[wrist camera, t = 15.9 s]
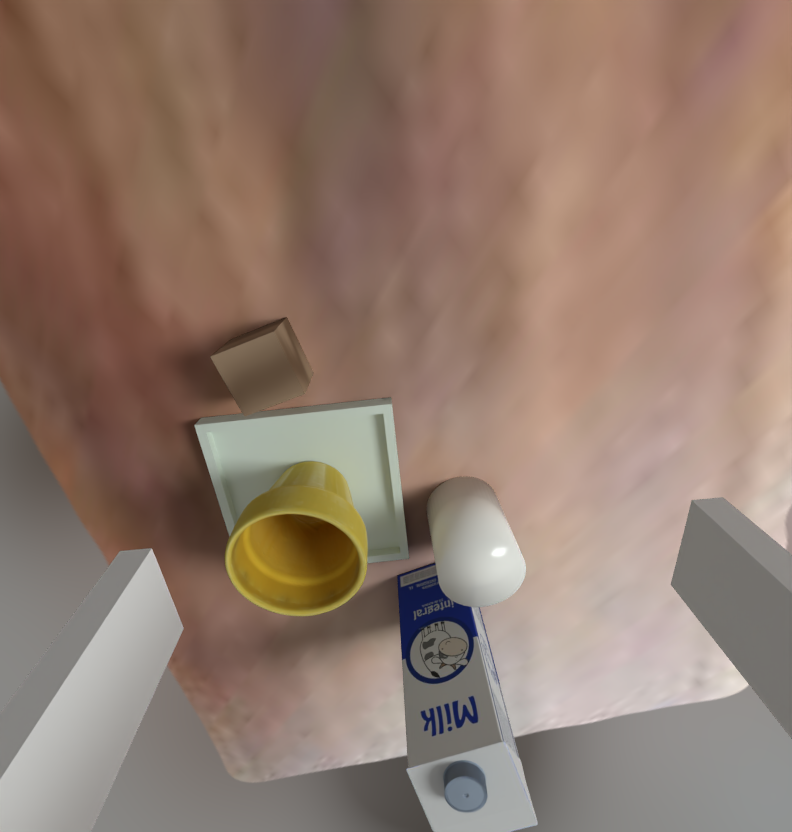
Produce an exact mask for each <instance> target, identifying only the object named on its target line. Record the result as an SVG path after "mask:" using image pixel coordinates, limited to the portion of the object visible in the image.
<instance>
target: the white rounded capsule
mask: <svg viewBox="0 0 792 832" xmlns="http://www.w3.org/2000/svg"><path fill="white" fill-rule="evenodd" d="M427 516H428V522H429V528H430V534H431V540H432V546H433V552H434V558H435V563H436V569H437V575H438V581H439V585H440V588H441V590H442V591H443V593H444V594H445V595H446V596H447V597H448V598H449V599H451V600H452V601H454V602H456V603H458V604H461V605H464V606H469V607H485V606H490V605H494V604H497V603H499V602H502V601H504V600H505V599H507V598H509V597H510V596H511V595H513V594H514V593H515V592H516V591H517V590H518V588H519V587H520V586H521V584H522V582H523V580H524V578H525V574H526V565H525V561H524V558H523V556H522V554H521V551H520V549H519V547H518V544H517V542H516V540H515V537H514V535H513V533H512V531H511V528H510V526H509V524H508V521H507V519H506V517H505V514H504V512H503V510H502V507H501V505H500V503H499V500H498V498H497V496H496V493H495V492H494V490H493V489H492V487H491V486H490V485H489V484H487V483H486V482H484V481H483V480H480V479H478V478H474V477H456V478H453V479H450V480H447V481H445V482H443V483H442V484H440V485H439V486H438V487H437V488H436V489H435V490H434V491H433V492H432V494H431V495H430V497H429V499H428V502H427Z"/></svg>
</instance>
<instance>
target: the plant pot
mask: <svg viewBox="0 0 792 832" xmlns="http://www.w3.org/2000/svg"><path fill="white" fill-rule="evenodd" d="M367 555H368V543H367V532H366V528H365V525H364V522H363V520H362V518H361V516H360V515H359V513H358V512H357V510H356V509H355V508H354V505H353V501H352V497H351V493H350V490H349V486H348V483H347V481H346V479H345V478H344V476H343V475H342V474H341V473H340V472H339V471H338V470H337V469H335V468H334V467H332V466H330V465H328V464H325V463H322V462H316V461H307V462H301V463H298V464H296V465H293V466H291V467H290V468H288V469H287V470H286V471H285V472H284V473H283V474H282V475H281V477H280V478H279V479H278V480H277V481H276V482H275V484H274V485H273V486H272V487H271V488H270V489H269V491H267V492H264V493H263V494H261V495H259V496H257V497H256V498H255V499H253V500H252V501H251V502H250V503H249V504H248V505H247V506H246V508H245V509H244V510H243V512H242V514H241V515H240V517H239V519H238V521H237V523H236V525H235V526H234V528H233V531H232V533H231V535H230V537H229V540H228V542H227V546H226V550H225V567H226V570H227V573H228V576H229V578H230V580H231V582H232V584H233V585H234V586H235V588H236V589H237V590H238V591H239V592H240V593H241V594H242V595H243V596H244V597H245V598H246V599H248V600H249V601H250V602H252V603H254V604H255V605H257V606H259V607H261V608H263V609H266V610H268V611H271V612H274V613H278V614H283V615H289V616H312V615H318V614H322V613H325V612H328V611H331V610H333V609H336V608H338V607H339V606H341V605H343V604H344V603H346V602H347V601H348V600H350V599H351V598H352V597H353V596H354V595H355V594H356V593H357V591H358V590H359V588H360V587H361V585H362V583H363V581H364V578H365V575H366V571H367Z"/></svg>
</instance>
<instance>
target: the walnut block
mask: <svg viewBox="0 0 792 832" xmlns="http://www.w3.org/2000/svg"><path fill="white" fill-rule="evenodd" d="M210 358H211V359H212V361H213V363H214V365H215V366H216V368H217V370H218V372H219V373H220V375H221V377H222V379H223V380H224V382H225V384H226V385H227V387H228V389H229V391H230V392H231V394H232V396H233V398H234V399H235V401H236V403H237V405H238V406H239V408H240V410H241V412H242V413H243V415H244V417H245V416H248V415H250V414H253V413H256V412H258V411H261V410H264V409H266V408H269V407H272V406H274V405H277V404H280V403H282V402H285V401H287V400H290V399H293V398H295V397H298V396H301V395H303V394H305V393H306V390H307V388H308V386H309V383H310V381H311V378H312V376H313V373H314V372H313V370H312V368H311V366H310V364H309V362H308V360H307V358H306V356H305V354H304V352H303V350H302V347H301V345H300V343H299V341H298V339H297V337H296V335H295V333H294V331H293V329H292V327H291V325H290V322H289V320H288V318H287V317H286V318H283V319H281V320H278V321H276V322H273V323H271V324H268V325H266V326H263V327H261V328H259V329H256V330H254V331H251V332H249V333H246V334H244V335H241V336H239V337H236V338H234V339H231V340H230V341H229V342H227V343H226V344H225V345H224V346H223V347H221V348H220V349H219V350H218V351H216V352H215V353H214V354H213V355H212V356H210Z"/></svg>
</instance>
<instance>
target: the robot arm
mask: <svg viewBox="0 0 792 832" xmlns="http://www.w3.org/2000/svg"><path fill="white" fill-rule="evenodd" d="M671 585H672V587H673V588H674V589H675V590H676V592H677V593H678V594H679V596H680V597H681V598H682V599H683V601H684V602H685V603H686V604H687V606H688V607H689V608H690V610H691V611H692V612H693V613H694V615H695V616H696V617H697V619H698V620H699V621H700V622H701V624H702V625H703V626H704V627H705V629H706V630H707V631H708V633H709V634H710V635H711V636H712V638H713V639H714V640H715V641H716V643H717V644H718V645H719V647H720V648H721V649H722V650H723V652H724V653H725V654H726V656H727V657H728V658H729V659H730V661H731V662H732V663H733V664H734V666H735V667H736V668H737V670H738V671H739V672H740V673H741V675H742V676H743V677H744V679H745V680H746V681H747V682H748V684H749V685H750V686H751V687H752V689H753V690H754V691H755V693H756V694H757V695H758V696H759V698H760V699H761V700H762V701H763V703H764V704H765V705H766V706H767V708H768V709H769V710H770V712H771V713H772V714H773V715H774V717H775V718H776V719H777V721H778V722H779V723H780V724H781V726H782V727H783V728H784V730H785V731H786V732H787V733H788V734H789V736H790V737H791V739H792V555H791V554H790V553H789V552H788V551H787V550H785V549H784V548H783V547H782V546H781V545H779V544H778V543H777V542H776V541H775V540H773V539H772V538H771V537H770V536H769V535H767V534H766V533H765V532H764V531H763V530H761V529H760V528H759V527H758V526H757V525H755V524H754V523H753V522H752V521H751V520H750V519H748V518H747V517H746V516H745V515H744V514H742V513H741V512H740V511H739V510H738V509H736V508H735V507H734V506H733V505H732V504H730V503H729V502H728V501H727V500H726V499H724V498H712V499H700V500H692V501H691V505H690V510H689V514H688V518H687V522H686V526H685V530H684V534H683V538H682V542H681V546H680V550H679V554H678V558H677V562H676V566H675V570H674V574H673V578H672V582H671ZM183 629H184V628H183V625H182V623H181V620H180V618H179V615H178V613H177V610H176V608H175V605H174V603H173V600H172V598H171V595H170V593H169V590H168V588H167V585H166V583H165V580H164V578H163V575H162V573H161V570H160V568H159V565H158V563H157V560H156V558H155V555H154V553H153V550H152V548H149V549H138V550H127V551H120V552H119V553H118V555H117V556H116V557H115V559H114V560H113V561H112V563H111V564H110V565H109V567H108V568H107V570H106V571H105V572H104V573H103V575H102V576H101V577H100V579H99V580H98V582H97V583H96V584H95V586H94V587H93V588H92V590H91V591H90V592H89V594H88V595H87V596H86V598H85V599H84V600H83V602H82V603H81V604H80V606H79V607H78V609H77V610H76V611H75V612H74V614H73V615H72V616H71V618H70V619H69V621H68V622H67V623H66V625H65V626H64V627H63V629H62V630H61V631H60V633H59V634H58V635H57V637H56V638H55V639H54V641H53V642H52V643H51V645H50V646H49V648H48V649H47V650H46V652H45V653H44V654H43V656H42V657H41V658H40V660H39V661H38V662H37V664H36V665H35V666H34V668H33V669H32V670H31V672H30V673H29V674H28V676H27V677H26V679H25V680H24V681H23V683H22V684H21V685H20V687H19V688H18V689H17V691H16V692H15V693H14V695H13V696H12V697H11V699H10V700H9V702H8V703H7V704H6V705H5V707H4V708H3V709H2V711H1V712H0V832H91V831H92V828H93V826H94V824H95V822H96V820H97V817H98V815H99V813H100V811H101V808H102V806H103V804H104V802H105V800H106V798H107V795H108V793H109V791H110V789H111V786H112V784H113V782H114V780H115V778H116V776H117V773H118V771H119V769H120V767H121V765H122V762H123V760H124V758H125V756H126V754H127V752H128V749H129V747H130V745H131V743H132V740H133V738H134V736H135V734H136V732H137V730H138V727H139V725H140V723H141V721H142V719H143V716H144V714H145V712H146V710H147V708H148V705H149V703H150V701H151V699H152V697H153V694H154V692H155V690H156V688H157V686H158V684H159V681H160V679H161V677H162V675H163V672H164V670H165V668H166V666H167V664H168V662H169V659H170V657H171V655H172V653H173V651H174V648H175V646H176V644H177V642H178V640H179V637H180V635H181V633H182V631H183Z"/></svg>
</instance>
